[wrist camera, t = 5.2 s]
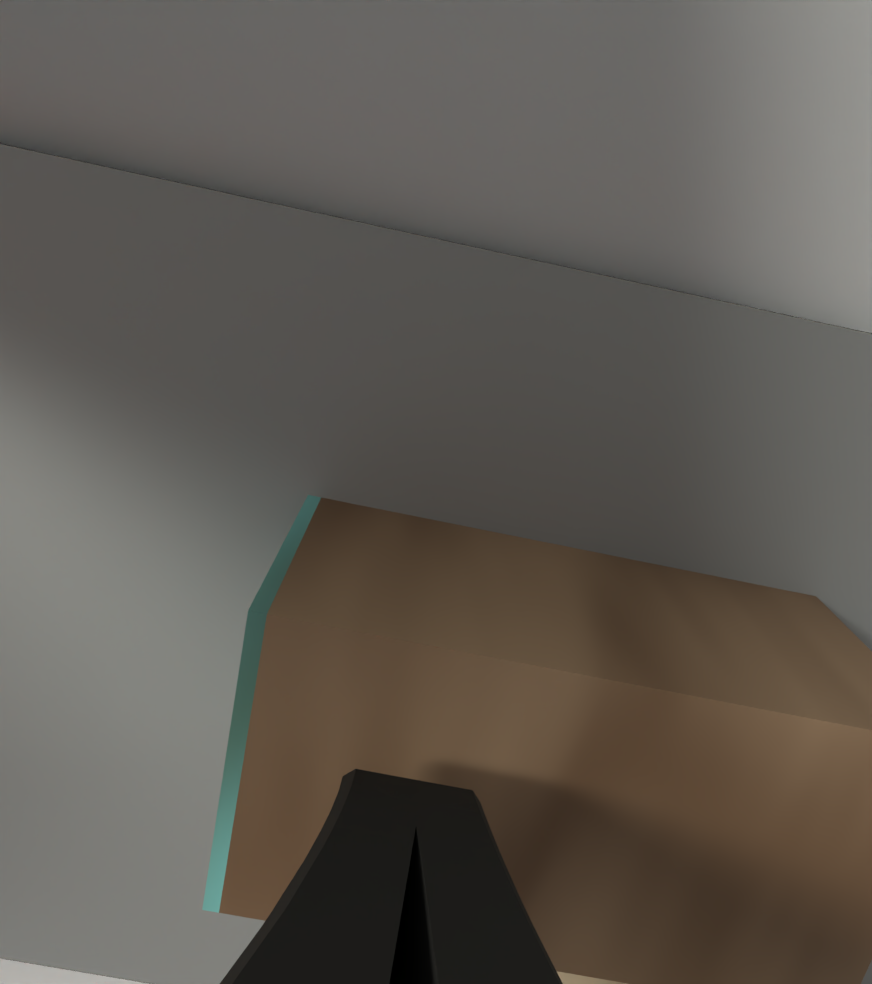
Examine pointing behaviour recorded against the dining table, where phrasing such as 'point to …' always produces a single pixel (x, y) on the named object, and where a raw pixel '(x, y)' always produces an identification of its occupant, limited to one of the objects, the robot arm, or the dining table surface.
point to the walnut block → (567, 741)
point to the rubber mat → (329, 489)
